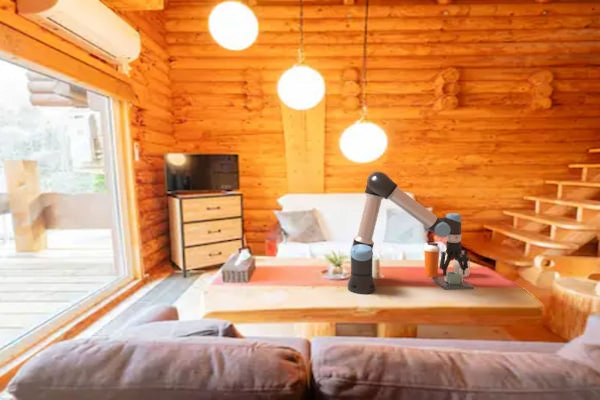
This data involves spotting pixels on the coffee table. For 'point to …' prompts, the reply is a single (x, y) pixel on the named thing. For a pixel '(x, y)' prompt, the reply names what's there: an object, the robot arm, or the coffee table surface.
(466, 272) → the jar
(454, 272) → the teal open box
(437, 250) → the shaker bottle
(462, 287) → the hub plate
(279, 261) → the coffee table surface
